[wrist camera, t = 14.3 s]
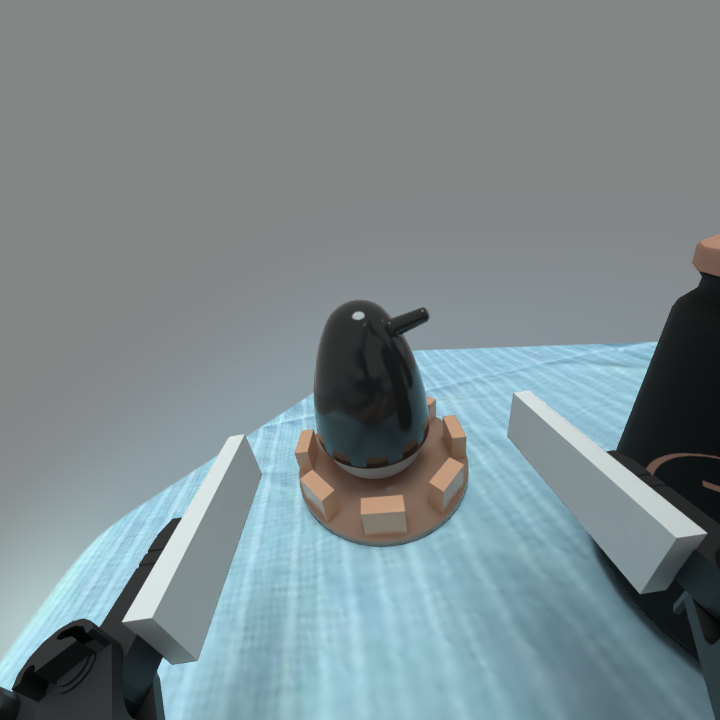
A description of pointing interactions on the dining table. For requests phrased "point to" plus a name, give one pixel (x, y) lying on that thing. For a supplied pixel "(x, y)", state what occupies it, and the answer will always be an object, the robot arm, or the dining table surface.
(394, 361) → the pump dispenser
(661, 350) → the coffee jar
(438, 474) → the castellated collar
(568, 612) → the dining table surface
